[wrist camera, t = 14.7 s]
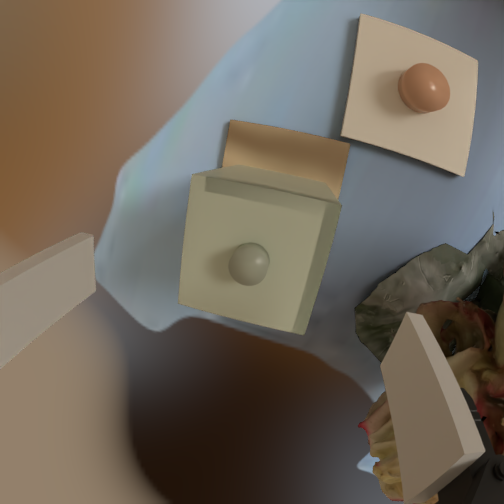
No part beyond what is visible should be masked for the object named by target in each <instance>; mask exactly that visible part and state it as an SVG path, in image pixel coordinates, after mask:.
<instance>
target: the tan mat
mask: <svg viewBox="0 0 504 504" xmlns="http://www.w3.org/2000/svg"><path fill="white" fill-rule="evenodd" d="M349 148H350V144H349V143H345V142H341V141H337V140H333V139H329V138H325V137H321V136H316V135H312V134H308V133H303V132H298V131H293V130H288V129H283V128H278V127H273V126H267V125H261V124H255V123H249V122H243V121H236V120H230V125H229V130H228V136H227V141H226V147H225V153H224V158H223V164H222V168H223V167H228V166H233V165H238V164H240V165H245V166H250V167H256V168H261V169H266V170H271V171H276V172H280V173H285V174H290V175H294V176H299V177H303V178H308V179H312V180H316V181H320V182H325V183H326V184H327V186H328V187H329V188H330V190H331V191H332V192H333V194H334V195H335V197H336V198H337V199H338V198H339V193H340V189H341V185H342V181H343V176H344V172H345V167H346V163H347V158H348V153H349Z"/></svg>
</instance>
